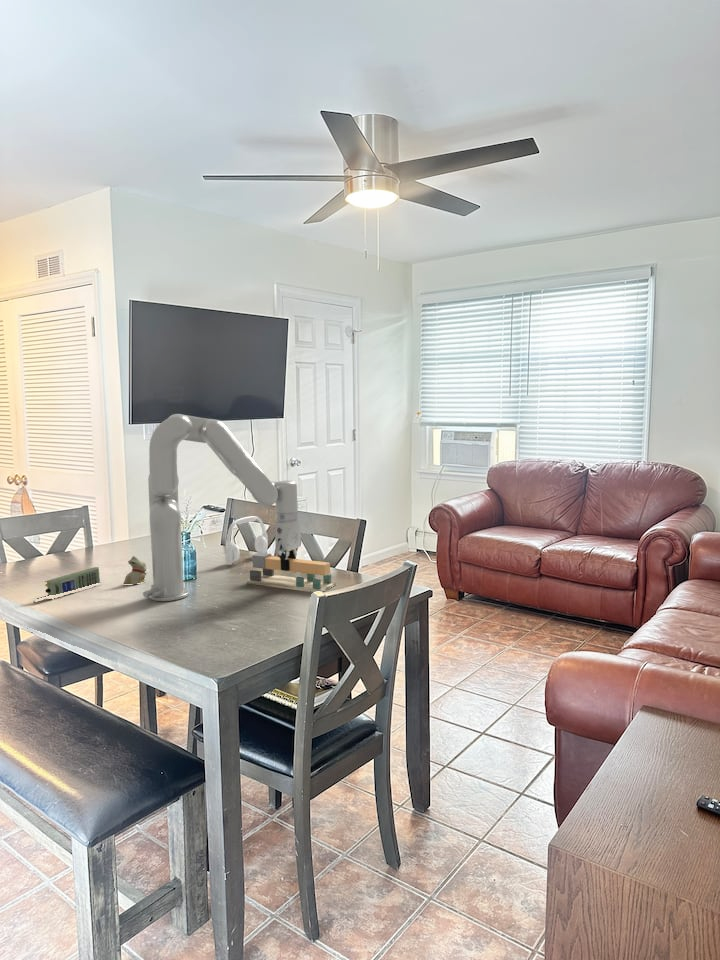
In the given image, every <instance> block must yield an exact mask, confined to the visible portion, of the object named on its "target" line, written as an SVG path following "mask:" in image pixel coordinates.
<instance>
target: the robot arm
mask: <svg viewBox="0 0 720 960" xmlns="http://www.w3.org/2000/svg"><path fill="white" fill-rule="evenodd" d="M182 441H188V442H195V443H202V444H207V446H208V447H209V448H210V449H211V450H212V452H213V453H214V454H215V455H216V457H217V458H218V459H219V460H220V462H222V464H224V466H225V467H226V468H227V470H228V471H229V472H230V473H231V474H232V475H233V476H234V477H236V478H237V479H238V480H239V482H241V483H242V484H243V486H244V487H245V488H246V490H248V491H249V493H250V494H251V496H252V498H253V499H254V501H256V502H257V503H258V504H259V505H261V506H264V507H270V506H271V507H272V506H273V505H275V522H276V523H275V534H274V535H275V536H274V539H275V541H274V542H275V543H274V544H275V550H276V551H275V555H277V557H279V558H280V559H281V570H280V571H282V570H284V571H283V572H290V571H289V570H290V569H289V559H288V558H291V559H297V555H298V554H297V553H298V549H299V548H300V547H301V546H302V534H301V533H302V531H301V525H300V521H299V511H298V509H299V508H298V507H299V506H298V485H297V482H296V481H294V480H280V481H271V479H270V478H269V477H268V476H267V475H266V474H265V472H264V471H263V470H262V469H261V467H259V465H258V464H257V463H256V462H255V460H254V459H253V457H252V456H251V454H250V453H248V451H247V450H246V449H245V448H244V446H243V445H242V444H241V443H240V441H239V440H238V438H237V437H236V436H235V435H234V434H233V432H231V430H230V429H229V428H228V426H227V425H226V424H225V423H224V422H223V421H221V420H219V419H214V418H205V417H199V416H193V415H186V414H182V413H173V414H171V415H170V416H168V417H167V418H166V419H164V420H163V421H162V422H161V423H159V424H158V425H157V427H156V428H155V429H154V430H153V432H152V434H151V437H150V440H149V448H148V449H149V450H148V453H149V454H148V455H149V456H148V457H149V458H148V460H149V461H148V465H149V475H148V479H147V481H148V482H147V483H148V500H149V501H148V503H149V507H148V508H149V530H150V549H151V562H152V563H151V564H152V580H153V581H152V582H153V584H152V585H151V586H150V587H151V588H150V589H148V590H146V591H145V590H144V591H143V593H142V596H143V597H144V598H149V599H150V600H152V601H156V602H171V601H178V600H181V599H184V598H186V597H187V596H189V589H187V588H185V587H184V585H185V584H184V566H183V564H184V563H183V547H182V546H183V545H182V544H183V543H182V515H181V510H180V507H179V506H180V505H179V483H180V481H179V476H178V462H177V461H178V450H177V449H178V446H179V444H180V443H181V442H182Z"/></svg>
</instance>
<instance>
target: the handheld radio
mask: <svg viewBox="0 0 720 960" xmlns="http://www.w3.org/2000/svg"><path fill="white" fill-rule="evenodd" d="M44 582H45V585H44V586H45V587H47V588H46V589H45V593H47V595H46V596H49V595H56V594H60V593H64V592H68V591H72V590H76V589H78V588H82V587H85V586H89V585H92V584H96V583H100V584H101V579H100V569H99V567H97V566H93V567H90V568H87V569H84V570H80V571H76V572H73V573H69V574H66V575H62V576H58V577H55V578H51V579H47V580H45V581H44ZM46 596H45V595H44V596H42V597H46ZM42 597H38V598H36V599H39V598H42Z"/></svg>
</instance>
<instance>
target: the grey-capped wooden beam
mask: <svg viewBox="0 0 720 960" xmlns="http://www.w3.org/2000/svg"><path fill="white" fill-rule="evenodd" d="M251 556H252V568H256V569H262V570H263V569H273V570H274V571H283V572H285V571H284V570H281V559H280V558H279V556H274V555H273V556H272V553H268V552H267V553H258V552H257V553H254V554H252V555H251ZM288 559H289V569H290V570H289V571H288V572H292V573H299V574H306V575H307V574H315V576H317V575H318V576H323V575H324V576H325V575H327V574H330V573H331V563H330V562H326V561H319V560H310V559H309V560H308V559H298V558H296V559H291V558H288Z"/></svg>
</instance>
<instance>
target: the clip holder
mask: <svg viewBox="0 0 720 960" xmlns="http://www.w3.org/2000/svg"><path fill="white" fill-rule="evenodd" d="M306 577H307V578H305V577H302V576H297V577H292V576H285V575H278V574H277V575H276V574H275V570H273V569H262V571H261V570H249V579H247V580H246V584H249V585H258V586H264V587H270V588H271V587H272V588H279V589H286V590H292V591H293V590H294V591H301V592H307V593H308V592H309V593H314V592H313V591H325V592H327V591H329V590H330V589H332V588H334V587H336V586H337V585H336V584H337V583H336V582H332V574H330V573H329V574H327V575H325V576H324V575H322V578H323V580H322V579H320V578H319V579H317V578H316V575H315V574H307V573H306ZM335 585H336V586H335ZM333 586H334V587H333ZM331 587H332V588H331ZM328 589H329V590H328ZM310 591H311V592H310Z"/></svg>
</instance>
